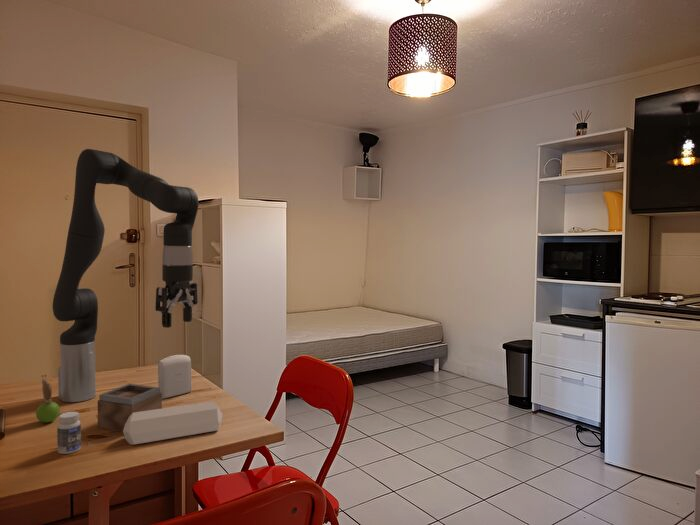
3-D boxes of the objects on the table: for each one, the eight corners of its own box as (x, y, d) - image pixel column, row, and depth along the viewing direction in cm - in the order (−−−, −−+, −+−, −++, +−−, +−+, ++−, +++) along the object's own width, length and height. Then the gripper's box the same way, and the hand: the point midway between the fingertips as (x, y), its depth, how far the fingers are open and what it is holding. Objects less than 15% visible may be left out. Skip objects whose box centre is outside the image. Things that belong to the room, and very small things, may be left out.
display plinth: (97, 427, 126) (97, 395, 126) (129, 412, 136) (129, 383, 136) (132, 433, 123) (131, 400, 122) (161, 418, 133) (161, 387, 132)
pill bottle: (70, 455, 110) (69, 419, 110) (52, 453, 111) (52, 417, 110) (85, 446, 115) (85, 411, 114) (68, 444, 116) (68, 410, 115)
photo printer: (162, 400, 147) (162, 359, 147) (156, 396, 150) (155, 357, 150) (193, 392, 155) (193, 354, 154) (186, 389, 158) (186, 351, 157)
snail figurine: (56, 415, 134) (55, 372, 133) (62, 422, 129) (61, 377, 128) (33, 420, 130) (32, 376, 129) (38, 427, 125) (38, 381, 125)
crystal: (218, 405, 133) (121, 419, 122) (223, 399, 127) (122, 413, 116) (221, 433, 130) (122, 450, 119) (227, 428, 125) (123, 445, 113)
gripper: (182, 261, 135) (182, 318, 136) (146, 263, 121) (146, 328, 122) (205, 262, 133) (205, 321, 134) (172, 265, 119) (172, 330, 120)
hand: (177, 324), depth 128 cm, fingers open, 8 cm apart
